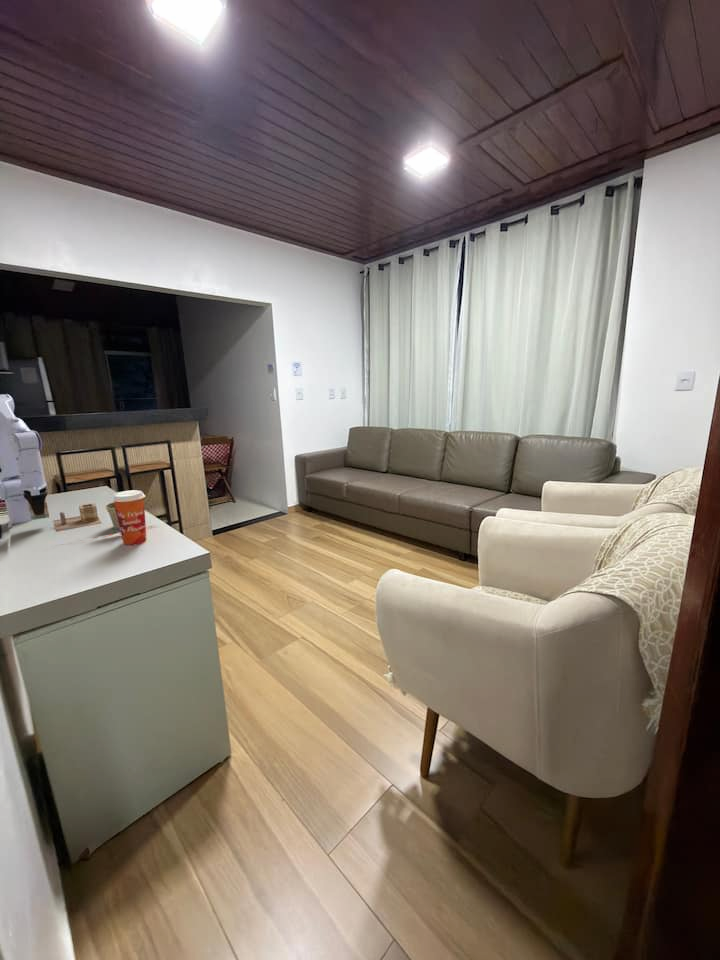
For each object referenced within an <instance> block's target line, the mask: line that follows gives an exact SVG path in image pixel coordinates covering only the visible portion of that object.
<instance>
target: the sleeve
mask: <svg viewBox="0 0 720 960" xmlns="http://www.w3.org/2000/svg"><path fill="white" fill-rule="evenodd" d="M47 503H48V502H47V499H45V505H44V514H42V515H35V514H34V512H33V510H32V508H31V505H30V504H29V502H28V506H29V511H30V516H31V520H32V521H36V520H41V519H47V518H50V514H49V507H48V504H47Z"/></svg>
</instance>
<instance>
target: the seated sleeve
mask: <svg viewBox="0 0 720 960" xmlns="http://www.w3.org/2000/svg"><path fill="white" fill-rule="evenodd" d="M78 509H79V514H80V515H79V516H81V520H82V522H89V521H95V520H98V518H99V514H98V510H97V505H96V504H95V503H94V502H92V503H87V504H86V503H84V504H81V505H78Z"/></svg>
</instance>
